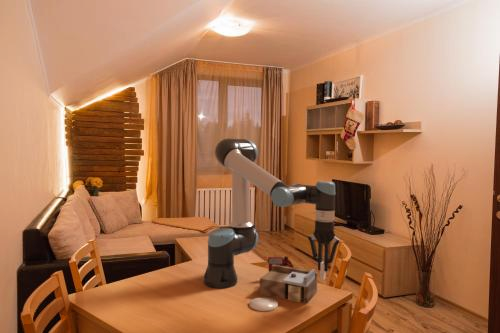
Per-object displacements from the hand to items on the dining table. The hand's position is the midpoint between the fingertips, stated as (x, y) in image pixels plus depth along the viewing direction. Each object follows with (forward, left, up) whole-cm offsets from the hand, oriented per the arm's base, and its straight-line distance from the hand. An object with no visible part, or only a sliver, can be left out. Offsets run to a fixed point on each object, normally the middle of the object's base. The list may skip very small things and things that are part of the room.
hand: (322, 278), depth 147 cm
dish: (-19, -16, -9) cm, 26 cm away
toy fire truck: (-24, +15, -9) cm, 30 cm away
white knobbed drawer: (-10, 0, -2) cm, 10 cm away
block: (-10, -4, -9) cm, 14 cm away
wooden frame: (-14, +1, -9) cm, 17 cm away
